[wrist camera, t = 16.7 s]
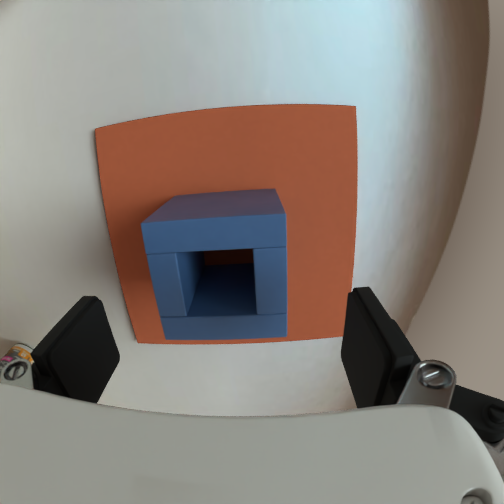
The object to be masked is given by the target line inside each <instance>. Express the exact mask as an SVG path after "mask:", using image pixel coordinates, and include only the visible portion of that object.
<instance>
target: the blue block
mask: <svg viewBox="0 0 504 504" xmlns="http://www.w3.org/2000/svg"><path fill="white" fill-rule="evenodd" d="M141 230H142V236H143V242H144V247H145V252H146V254H147V261H148V266H149V271H150V276H151V281H152V285H153V290H154V294H155V299H156V303H157V307H158V311H159V315H160V320H161V324H162V328H163V332H164V336H165V339H166V340H233V339H259V338H278V337H287V311H288V298H287V223H286V213H285V210H284V208H283V206H282V203H281V201H280V199H279V196H278V194H277V192H276V189H256V190H239V191H224V192H210V193H198V194H186V195H175V196H174V197H173V198H171V199H170V200H169V201H168V202H166V203H165V204H164V205H162V206H161V207H160V208H159V209H157V210H156V211H155V212H154V213H153V214H151V215H150V216H149V217H148V218H146V219H145V220H144V221H143V222H142V223H141ZM249 248H253V262H254V263H244V264H224V265H205V260H204V252H203V251H211V250H230V249H249Z"/></svg>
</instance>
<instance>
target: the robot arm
mask: <svg viewBox="0 0 504 504" xmlns="http://www.w3.org/2000/svg"><path fill="white" fill-rule="evenodd" d="M30 355H31V357H32V359H33V361H34V362H33V363H32V365H31V363H30V361H29V360H27V359H15V360H13V361H11V362H9V363H8V364H7V365H6V366H5V367H4V368H3V369H2V371H1V374H0V504H504V401H502V400H500V399H497V398H494V397H491V396H488V395H485V394H482V393H479V392H476V391H473V390H470V389H467V388H464V387H461V386H459V385H456V374H455V372H454V370H453V369H452V368H451V367H450V366H449V365H447V364H446V363H444V362H441V361H437V360H425V361H421V360H420V359H419V357H418V355H417V354H416V352H415V351H414V349H413V347H412V346H411V344H410V343H409V341H408V340H407V338H406V337H405V335H404V334H403V332H402V330H401V329H400V327H399V326H398V324H397V323H396V322H395V320H393V319H391V318H390V316H389V315H388V313H387V312H386V310H385V309H384V307H383V306H382V305H381V303H380V302H379V300H378V299H377V297H376V296H375V294H374V293H373V291H372V290H371V288H370V287H360V288H354V289H353V291H352V292H349V293H348V297H347V307H346V316H345V325H344V333H343V341H342V348H341V358H342V362H343V365H344V368H345V371H346V374H347V377H348V380H349V383H350V386H351V390H352V393H353V396H354V399H355V402H356V405H357V409H349V410H339V411H330V412H322V413H310V414H296V415H280V416H201V415H184V414H171V413H160V412H151V411H142V410H134V409H127V408H120V407H114V406H108V405H102V404H97V402H98V400H99V398H100V396H101V395H102V393H103V391H104V389H105V387H106V385H107V383H108V381H109V379H110V378H111V376H112V374H113V372H114V370H115V368H116V367H117V365H118V363H119V360H120V354H119V351H118V348H117V346H116V343H115V340H114V337H113V334H112V331H111V328H110V325H109V322H108V319H107V316H106V313H105V310H104V306H103V303H102V301H101V300H99V299H98V297H96V296H83V297H82V298H81V299H80V300H79V301H78V302H77V303H76V304H75V305H74V306H73V307H72V308H71V309H70V310H69V311H68V312H67V313H66V314H65V315H64V317H63V318H62V319H61V320H60V321H59V322H58V323H57V324H56V325H55V326H54V327H53V328H52V330H51V331H50V332H49V333H48V334H47V335H46V336H45V337H44V338H43V340H42V341H41V342H40V343H39V344H38V345H37V346H36V348H35V349H34V350H33V351H32V352H31V353H30Z"/></svg>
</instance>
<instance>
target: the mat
mask: <svg viewBox="0 0 504 504" xmlns="http://www.w3.org/2000/svg"><path fill="white" fill-rule="evenodd" d="M95 136H96V147H97V157H98V165H99V173H100V181H101V188H102V195H103V201H104V207H105V213H106V219H107V224H108V230H109V235H110V240H111V244H112V249H113V254H114V258H115V263H116V267H117V271H118V275H119V279H120V283H121V287H122V291H123V295H124V298H125V302H126V306H127V309H128V313H129V316H130V319H131V323H132V326H133V329H134V332H135V336H136V339H137V342H138V343H149V344H242V343H265V342H283V341H297V340H309V339H321V338H331V337H341V336H343V333H344V325H345V316H346V307H347V297H348V293H349V292H351V288H352V277H353V266H354V253H355V237H356V217H357V121H356V106H346V105H321V104H278V105H253V106H237V107H224V108H213V109H204V110H195V111H187V112H180V113H173V114H166V115H160V116H154V117H148V118H143V119H137V120H132V121H127V122H123V123H118V124H113V125H109V126H105V127H100V128H96V129H95ZM256 189H276V192H277V194H278V196H279V199H280V201H281V203H282V206H283V208H284V210H285V213H286V223H287V298H288V311H287V337H278V338H259V339H233V340H166V339H165V336H164V332H163V328H162V324H161V320H160V315H159V311H158V307H157V303H156V299H155V294H154V290H153V285H152V281H151V276H150V271H149V266H148V261H147V254H146V252H145V247H144V242H143V236H142V230H141V223H142V222H143V221H144V220H145V219H146V218H148V217H149V216H150V215H151V214H153V213H154V212H155V211H156V210H157V209H159V208H160V207H161V206H162V205H164V204H165V203H166V202H168V201H169V200H170V199H171V198H173V197H174V196H175V195H186V194H198V193H210V192H224V191H239V190H256ZM203 252H204V260H205V265H224V264H244V263H254V262H253V248H249V249H230V250H211V251H203Z"/></svg>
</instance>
